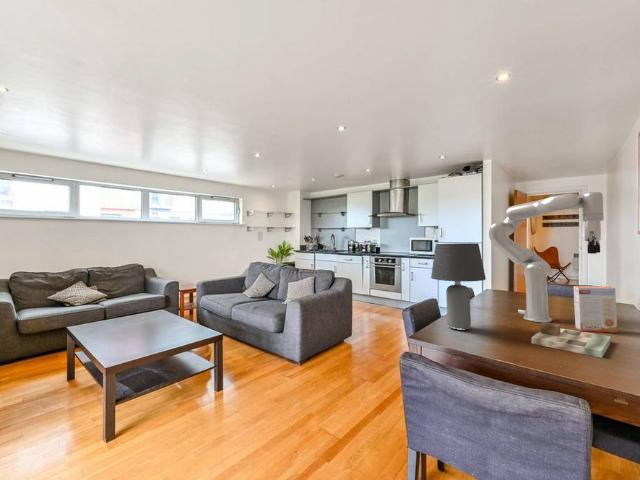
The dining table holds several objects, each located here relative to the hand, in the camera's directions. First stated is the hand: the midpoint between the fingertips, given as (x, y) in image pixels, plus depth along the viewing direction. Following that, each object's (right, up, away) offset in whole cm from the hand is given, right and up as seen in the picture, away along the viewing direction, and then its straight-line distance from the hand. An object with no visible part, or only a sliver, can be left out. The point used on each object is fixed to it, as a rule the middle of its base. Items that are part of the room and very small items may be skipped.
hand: (594, 253), depth 145 cm
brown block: (-31, -35, -13) cm, 49 cm away
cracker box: (-2, -37, -3) cm, 37 cm away
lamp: (-63, -39, +6) cm, 74 cm away
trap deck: (-27, -37, -18) cm, 50 cm away
